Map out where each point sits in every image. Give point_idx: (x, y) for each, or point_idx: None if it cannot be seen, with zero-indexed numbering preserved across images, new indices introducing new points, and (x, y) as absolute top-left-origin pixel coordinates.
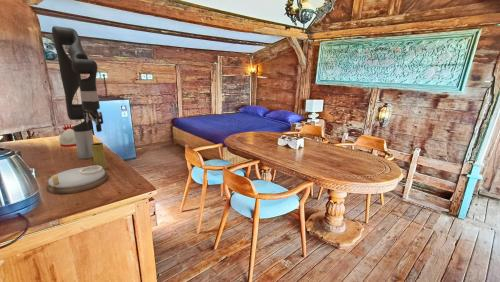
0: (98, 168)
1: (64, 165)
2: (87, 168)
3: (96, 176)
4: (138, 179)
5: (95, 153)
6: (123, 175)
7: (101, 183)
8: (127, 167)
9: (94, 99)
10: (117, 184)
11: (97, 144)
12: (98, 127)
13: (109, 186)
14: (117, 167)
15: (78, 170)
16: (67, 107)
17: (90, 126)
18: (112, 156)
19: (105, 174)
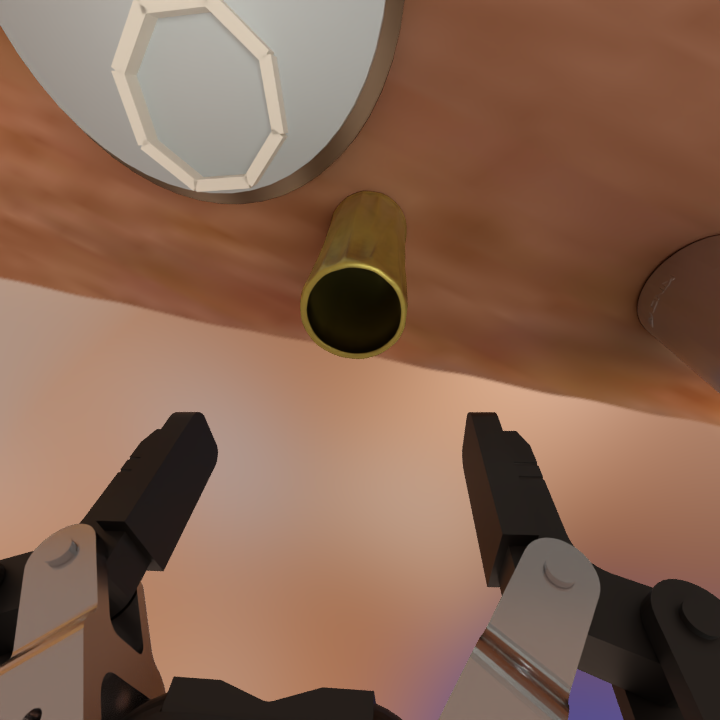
0: (237, 174)
1: (714, 65)
2: (269, 101)
3: (57, 74)
4: (46, 274)
5: (332, 241)
6: (151, 256)
7: None
8: (265, 330)
9: None
10: (19, 162)
11: (397, 326)
12: (113, 484)
13: (5, 111)
14: None
15: (301, 25)
16: None
17: (476, 480)
18: (522, 376)
19: None
